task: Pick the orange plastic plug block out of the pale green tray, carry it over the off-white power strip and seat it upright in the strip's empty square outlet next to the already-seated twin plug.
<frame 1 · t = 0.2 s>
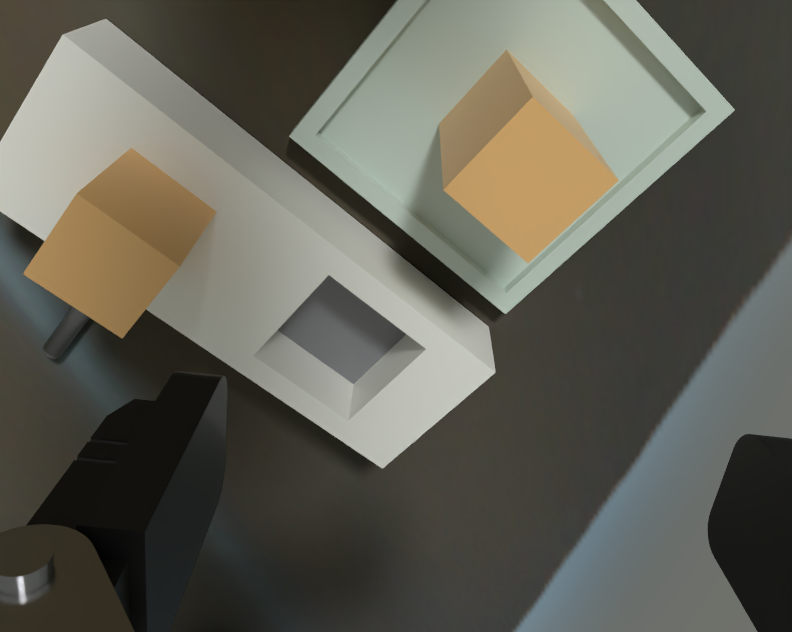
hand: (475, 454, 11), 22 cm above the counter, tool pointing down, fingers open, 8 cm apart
power strip: (266, 248, 34), on the counter
plug: (505, 119, 30), point 1 cm above the counter, touching tray
tray: (504, 115, 30), on the counter
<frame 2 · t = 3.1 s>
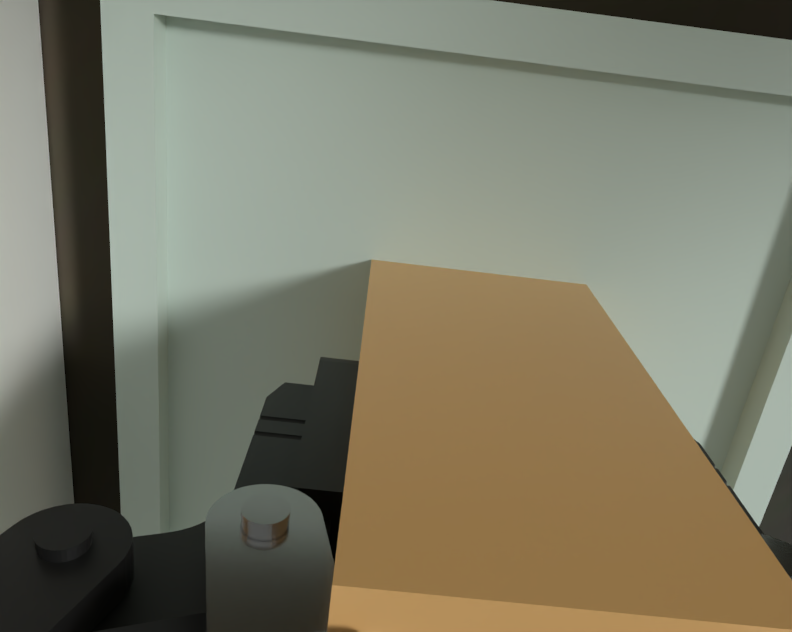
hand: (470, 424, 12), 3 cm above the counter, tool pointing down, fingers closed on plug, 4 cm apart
plug: (462, 368, 14), point 1 cm above the counter, touching gripper, tray
tray: (459, 354, 14), on the counter
when the fingers open (5 cm above the counter, at t = 7.1 s): plug drops 2 cm, resting on power strip.
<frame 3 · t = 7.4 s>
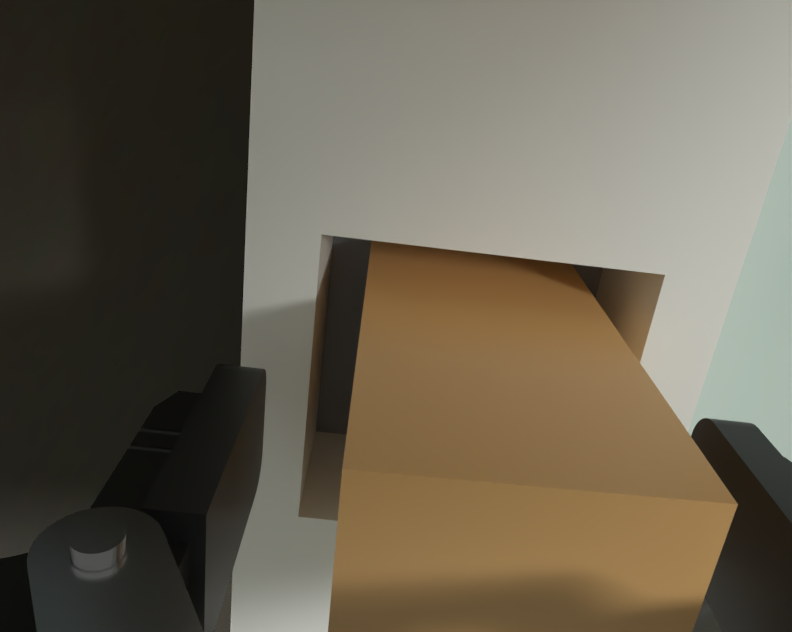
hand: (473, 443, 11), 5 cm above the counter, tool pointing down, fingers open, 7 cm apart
power strip: (489, 89, 14), on the counter
plug: (456, 334, 15), point 1 cm above the counter, touching power strip
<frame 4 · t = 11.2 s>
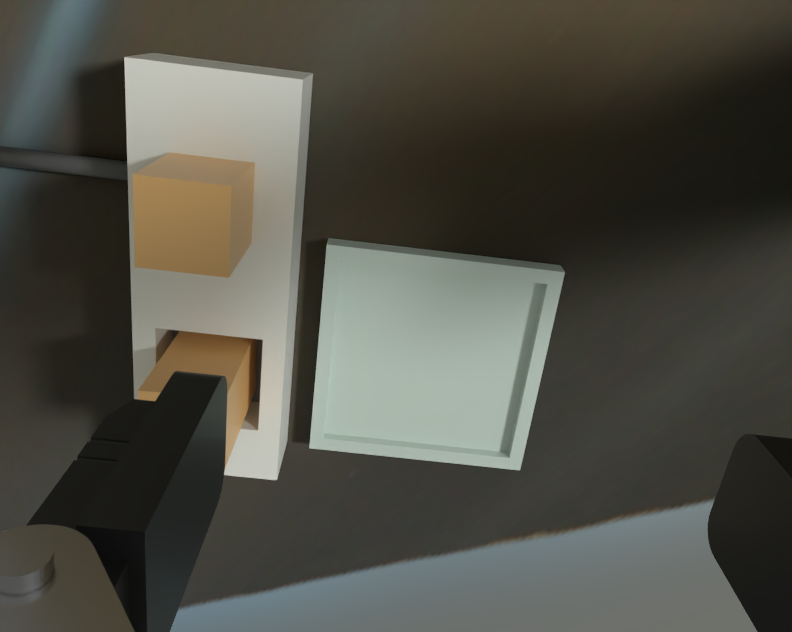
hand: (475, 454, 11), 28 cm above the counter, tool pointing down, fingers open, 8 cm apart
power strip: (227, 269, 40), on the counter
plug: (221, 356, 41), point 1 cm above the counter, touching power strip
tray: (429, 355, 42), on the counter
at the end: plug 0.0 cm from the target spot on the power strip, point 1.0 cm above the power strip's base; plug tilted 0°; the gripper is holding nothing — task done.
